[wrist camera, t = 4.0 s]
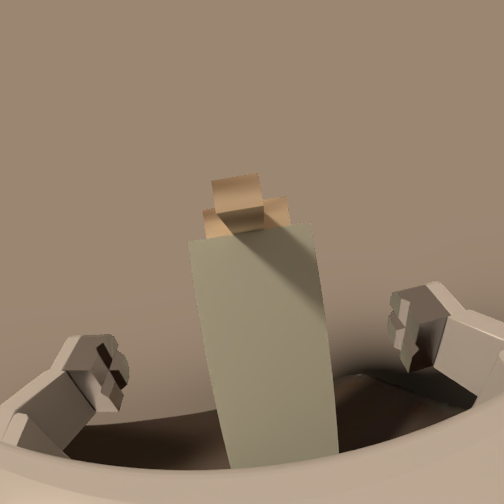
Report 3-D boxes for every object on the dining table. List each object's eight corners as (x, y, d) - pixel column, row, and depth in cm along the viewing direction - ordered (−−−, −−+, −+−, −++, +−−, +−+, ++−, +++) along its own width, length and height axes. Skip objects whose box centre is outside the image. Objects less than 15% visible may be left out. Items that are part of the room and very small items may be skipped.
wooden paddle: (306, 199, 16) (297, 155, 16) (174, 220, 16) (169, 176, 17) (284, 237, 35) (280, 215, 35) (221, 248, 35) (218, 225, 35)
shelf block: (240, 503, 24) (187, 241, 25) (245, 459, 33) (207, 249, 34) (340, 488, 23) (310, 222, 25) (326, 447, 32) (298, 235, 34)
